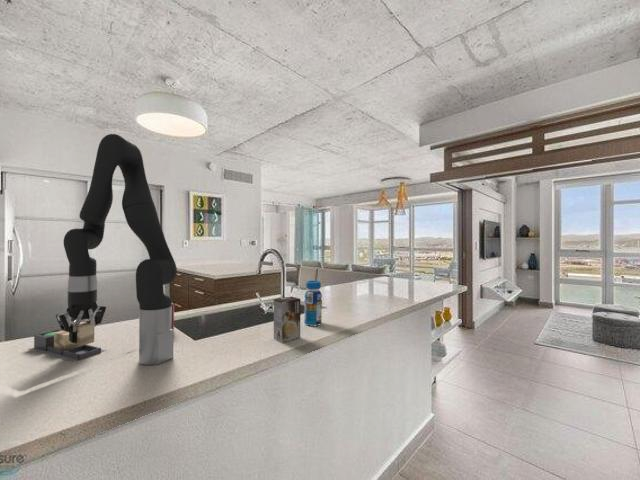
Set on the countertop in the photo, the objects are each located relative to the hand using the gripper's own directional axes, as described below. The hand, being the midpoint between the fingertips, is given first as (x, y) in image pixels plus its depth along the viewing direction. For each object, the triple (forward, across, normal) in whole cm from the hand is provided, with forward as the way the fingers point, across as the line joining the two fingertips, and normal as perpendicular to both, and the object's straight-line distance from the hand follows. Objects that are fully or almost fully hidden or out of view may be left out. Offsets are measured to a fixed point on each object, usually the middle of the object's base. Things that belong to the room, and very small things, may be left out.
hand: (82, 340), depth 96 cm
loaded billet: (+5, 0, +8) cm, 10 cm away
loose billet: (+1, 0, 0) cm, 1 cm away
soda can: (+6, +28, -3) cm, 29 cm away
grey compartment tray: (+6, 0, +8) cm, 10 cm away
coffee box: (+5, +44, -53) cm, 69 cm away
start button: (+3, 0, +16) cm, 17 cm away
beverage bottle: (+5, +66, -55) cm, 86 cm away
